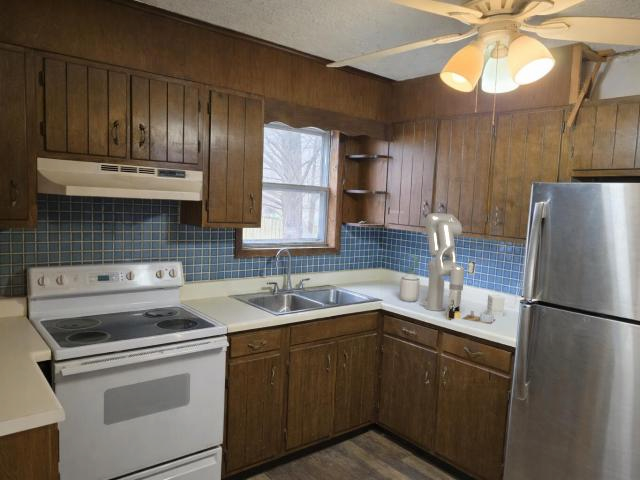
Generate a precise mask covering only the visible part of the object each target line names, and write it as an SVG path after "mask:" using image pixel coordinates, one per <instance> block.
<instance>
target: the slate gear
mask: <svg viewBox="0 0 640 480" xmlns="http://www.w3.org/2000/svg"><path fill="white" fill-rule="evenodd" d="M479 317H480V321H484V322H493V321H494V318H495V316H494V315H493V314H491V313H489V314H486V311H485V312H484V311H483V312H480V313H479ZM494 322H495V321H494ZM494 322H493V323H494Z"/></svg>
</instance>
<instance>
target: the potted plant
mask: <svg viewBox="0 0 640 480" xmlns="http://www.w3.org/2000/svg"><path fill="white" fill-rule="evenodd" d="M407 256H408V257H410V258H412V259H414V262H413V263H414V264H413V266H406V267H405V268H406V269H408V271H407V272H406V274H404V275H403V276H401V279H400V286H399V297H400V300H402V302H404V303H405V302H407V303H415V302H417V301H418V300H419V296H420V284H421V283H420V282H421V281H420V278H419V277H418V276H417V275H416V274H415V272H414V270H415V269H417V268H418V267H419V266H418V265H419V257H418V256H416V255H414V254H411V253H410V254H409V253H408V254H407Z"/></svg>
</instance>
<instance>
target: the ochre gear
mask: <svg viewBox="0 0 640 480" xmlns="http://www.w3.org/2000/svg"><path fill="white" fill-rule="evenodd" d="M446 313H447V314H446V319H448V320H449V321H451V320H452V318H449V317H448V316H449V310H448V311H446ZM461 315H462V312H460V311H459V312H458V311H455V315H454V318H453V319H454V320H455V319H457V320H458V319H460V318H461Z"/></svg>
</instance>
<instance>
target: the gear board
mask: <svg viewBox="0 0 640 480" xmlns="http://www.w3.org/2000/svg"><path fill="white" fill-rule="evenodd" d="M474 311H475V310H474ZM474 311H473V310H471V311H470V314H467V315H466V316H463V317H462V318H461V320H464V321H471V322H477V323H481V324H486V325H492V324H493V323H494V322H495V321H496V319H494V321H493V322H484V321H480V316H478V315H475V314H474ZM485 312H486V314H489V311H487V310H485Z"/></svg>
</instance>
